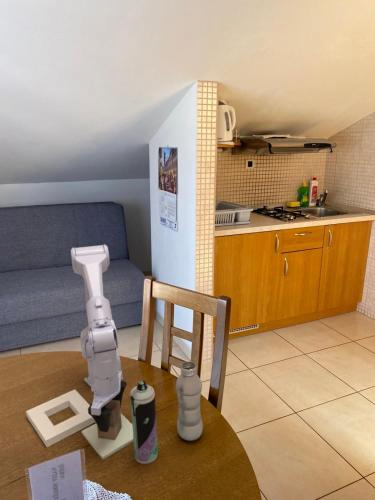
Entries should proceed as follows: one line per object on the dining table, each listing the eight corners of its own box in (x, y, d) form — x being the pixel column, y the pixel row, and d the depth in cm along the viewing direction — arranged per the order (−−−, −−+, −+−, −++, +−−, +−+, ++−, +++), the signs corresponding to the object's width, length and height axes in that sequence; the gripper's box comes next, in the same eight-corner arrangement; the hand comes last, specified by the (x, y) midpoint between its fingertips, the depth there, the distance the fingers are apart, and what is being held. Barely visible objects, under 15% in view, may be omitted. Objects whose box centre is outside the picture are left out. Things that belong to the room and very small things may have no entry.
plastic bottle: (184, 448, 94) (183, 377, 88) (172, 430, 100) (170, 362, 94) (207, 438, 97) (207, 369, 91) (194, 421, 103) (193, 355, 97)
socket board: (75, 395, 114) (74, 389, 114) (98, 420, 104) (97, 414, 103) (27, 417, 106) (26, 411, 105) (46, 447, 95) (45, 440, 95)
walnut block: (105, 424, 101) (102, 398, 99) (121, 427, 100) (119, 400, 98) (98, 437, 97) (95, 410, 95) (115, 440, 96) (113, 413, 94)
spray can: (148, 467, 89) (143, 393, 83) (129, 457, 92) (124, 385, 86) (162, 451, 93) (158, 379, 88) (144, 442, 96) (139, 372, 90)
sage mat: (119, 413, 106) (119, 411, 106) (142, 436, 98) (141, 433, 98) (81, 433, 100) (81, 431, 99) (102, 459, 91) (102, 456, 91)
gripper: (102, 354, 101) (106, 398, 105) (76, 389, 88) (82, 438, 92) (128, 357, 100) (131, 402, 104) (105, 393, 86) (110, 443, 90)
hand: (110, 419), depth 98 cm, fingers open, 7 cm apart
